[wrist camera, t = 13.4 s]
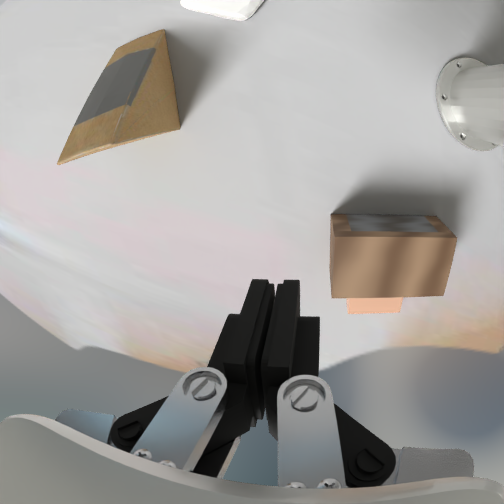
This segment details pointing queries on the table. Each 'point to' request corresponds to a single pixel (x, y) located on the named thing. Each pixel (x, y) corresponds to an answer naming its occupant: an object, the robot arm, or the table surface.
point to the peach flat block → (374, 305)
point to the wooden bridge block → (389, 256)
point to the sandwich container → (127, 100)
